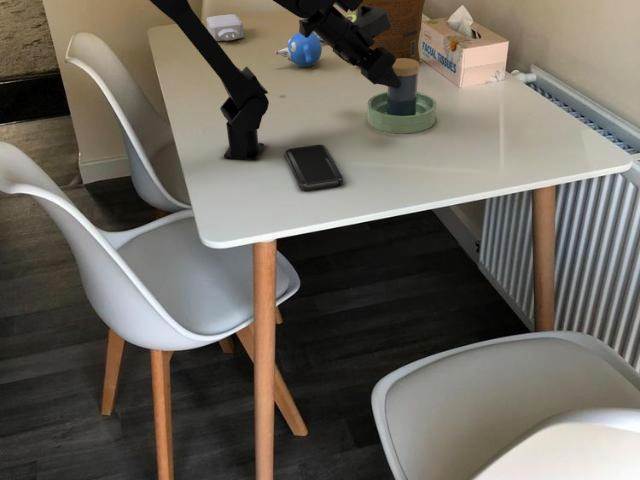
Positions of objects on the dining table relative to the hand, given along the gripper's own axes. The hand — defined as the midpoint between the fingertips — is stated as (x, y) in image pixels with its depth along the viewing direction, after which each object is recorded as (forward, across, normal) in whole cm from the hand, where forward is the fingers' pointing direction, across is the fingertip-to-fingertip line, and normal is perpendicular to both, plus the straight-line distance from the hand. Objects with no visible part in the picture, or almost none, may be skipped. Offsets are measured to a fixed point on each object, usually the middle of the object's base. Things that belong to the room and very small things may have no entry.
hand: (389, 78), depth 134 cm
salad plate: (+17, +63, -2) cm, 65 cm away
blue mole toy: (+3, +42, +11) cm, 43 cm away
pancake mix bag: (+18, +32, -4) cm, 37 cm away
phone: (-8, -12, +22) cm, 27 cm away
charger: (-4, +73, +18) cm, 75 cm away
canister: (+9, 0, +5) cm, 10 cm away
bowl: (+9, 0, +5) cm, 10 cm away
